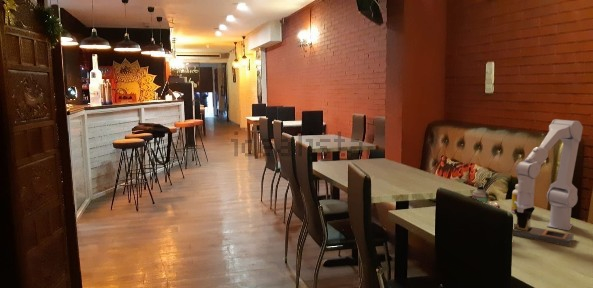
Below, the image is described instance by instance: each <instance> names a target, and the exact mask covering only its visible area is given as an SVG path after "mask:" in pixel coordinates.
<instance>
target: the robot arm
mask: <svg viewBox="0 0 593 288" xmlns="http://www.w3.org/2000/svg"><path fill="white" fill-rule="evenodd" d="M583 130H584V127H583V124H582V123H581V122H580V121H579V120H569V119H559V118H555V119H552V121H551V122H550V124H549V125H548V132H547V134H546V136H545V137H544V138H543V140H542V142H541V144H540V145H539V146H536V147H534V148H533V149H532V150H531V151H530V153H529V154H528V156H526V158H525V159H524V161H520V162H519V163H518V164H517V165H516V168H515V173H516V175H517V176H516V177H517V181H518V183H517V184H518V195H517V202H516V201H515V202H514V204H516V205H517V207H518V208H517V209H515V210H514V212H515V213H514V214H515V216H516V221H517V220H518V226H519V228H525V227H526V223H527V219H528V218H531V217H532V214H533V213H534V210H536V207H534V206H535V203H534V199H535V186H536V178H537V177H538V176H539V175H540V172H541V168H542V165H543V163H544V162H545V161H546V160H547V158H548V157H549V151H550V150H551V149H552V147H554V145H555V144H557V143H558V141H559V140H560V141H561V142H562V150H561V156H560V160H559V165H558V172H557V175H556V176H557V177H556V181H554V182H552V183H550V184H549V185H550V186H549V188H548V191H547V192H546V198H547V199H546V200H547V201H548V202H549V205H550V213H549V223H547V224H546V227H549V228H552V229H553V228H554V229H560V230H564V231H570V230H571V228H572V226H574V224H573V223H571V219H572V218H571V216H572V208H574V206H576V205H577V203H578V200H579V199H578V198H579V197H578V188H577V187H576V186H575V185H574V184H573V177H574V171H575V166H576V161H577V156H578V149H579V144H580V142H581V141H582V134H583Z"/></svg>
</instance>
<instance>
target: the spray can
mask: <svg viewBox="0 0 593 288" xmlns="http://www.w3.org/2000/svg"><path fill="white" fill-rule="evenodd" d="M471 197H472V198H474V199H477V200H479V201H482V202H485V203H488V202H489V201H488V200H489V192H488V191H486V190H485V188H484V186H483V185H482V184H481V185H478V186H477V188H476V189H474V190H473V191H472V196H471ZM472 198H471V199H472Z"/></svg>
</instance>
